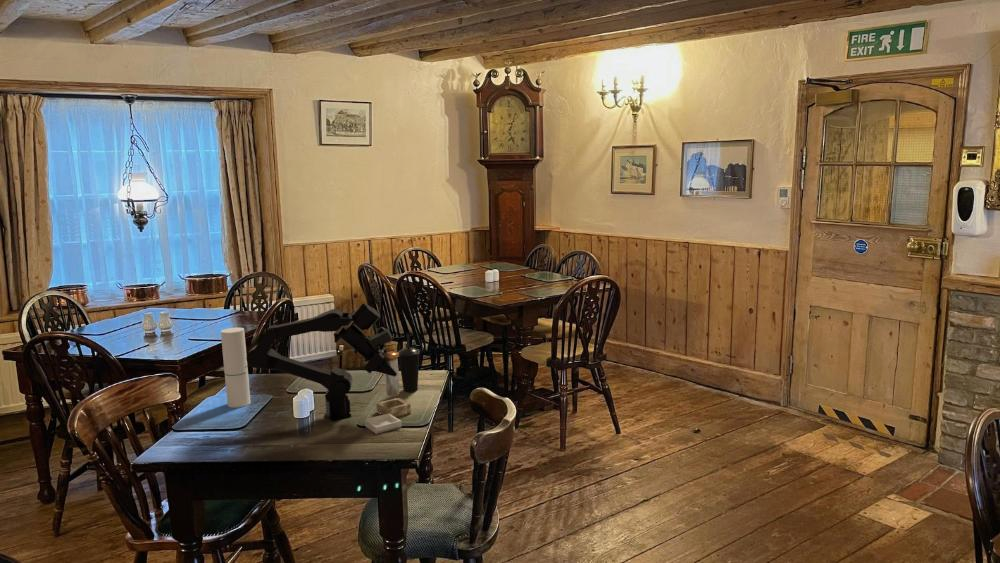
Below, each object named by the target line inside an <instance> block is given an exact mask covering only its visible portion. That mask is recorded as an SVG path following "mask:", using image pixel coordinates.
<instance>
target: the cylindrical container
mask: <svg viewBox="0 0 1000 563" xmlns="http://www.w3.org/2000/svg"><path fill="white" fill-rule="evenodd" d="M245 336H246V335H245V328H244V327H230V328H229V327H228V328H224V329H222V330H220V337H221V339H220V340H221V347H222V350H221V351H222V358H223V369H224V370H223V371H224V381H225V389H226V402H227V407H228V408H242V407H246V406H249V405H250V404H251V403H252V402H251V394H250V393H251V392H250V381H249V370H248V363H247V360H246V357H247V345H246V337H245Z"/></svg>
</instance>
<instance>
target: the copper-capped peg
mask: <svg viewBox="0 0 1000 563" xmlns="http://www.w3.org/2000/svg"><path fill="white" fill-rule="evenodd" d="M385 354H386V361H387V362H388V364H389V365H390V366H391V367H392V368H393V369H394V371H395V372H396V373H397V375H396V376H395V377H394V376H391V375H387V374H384V377H385V390H386V391H385V393H386V396H388V397H395V396H399V394H400V380H399V377H400V376H399V364H398V363H399V361H398V360H399V353H398V351H394V350H393V351H387V352H385V353H383V355H385Z"/></svg>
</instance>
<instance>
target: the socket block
mask: <svg viewBox="0 0 1000 563" xmlns="http://www.w3.org/2000/svg"><path fill="white" fill-rule="evenodd" d="M411 410H412V409H411V403H410V402H407V401H405V400H404V399H402V398H399V397H395V398H392V399H388V400H387V399H386V400H383V401H379V402H376V412H377V411H378V412H379V413H381V414H382V415H384V414H388V413H389V414H391V415H392V416H394V417H396V416H398V417H401V416H400V415H402V416H404V415H403V414H406V415H408V414H407V413H410V414H412V411H411ZM378 412H377V413H378ZM379 413H378V414H379ZM381 414H380V415H381ZM396 418H397V417H396Z"/></svg>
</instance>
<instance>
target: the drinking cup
mask: <svg viewBox="0 0 1000 563" xmlns="http://www.w3.org/2000/svg"><path fill="white" fill-rule="evenodd" d="M406 338H407V341H406V342H407V347H404V348H401V350H398V351H397V352H398V353H399V357H398V360H399V361H398V363H399V368H400V374H401V381H402V389H403V391H404V393H412V392H416V391H417V392H418V390H419V388H418V387H419V386H418V385H419V366H420V364H419V363H420V353H421V350H420V349H417V348H415V347H410V333H408V332H407V333H406Z"/></svg>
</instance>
